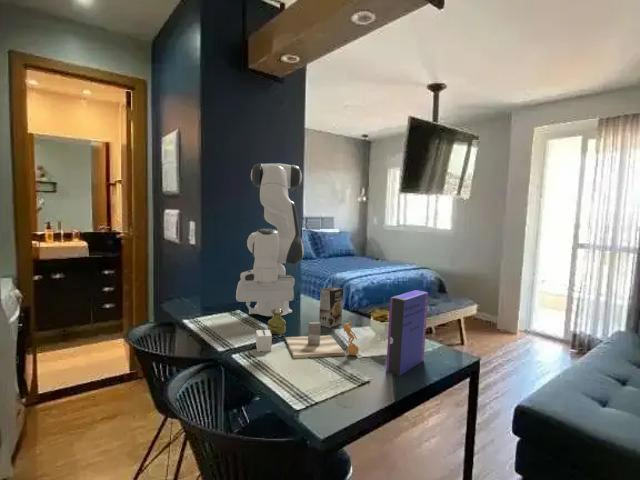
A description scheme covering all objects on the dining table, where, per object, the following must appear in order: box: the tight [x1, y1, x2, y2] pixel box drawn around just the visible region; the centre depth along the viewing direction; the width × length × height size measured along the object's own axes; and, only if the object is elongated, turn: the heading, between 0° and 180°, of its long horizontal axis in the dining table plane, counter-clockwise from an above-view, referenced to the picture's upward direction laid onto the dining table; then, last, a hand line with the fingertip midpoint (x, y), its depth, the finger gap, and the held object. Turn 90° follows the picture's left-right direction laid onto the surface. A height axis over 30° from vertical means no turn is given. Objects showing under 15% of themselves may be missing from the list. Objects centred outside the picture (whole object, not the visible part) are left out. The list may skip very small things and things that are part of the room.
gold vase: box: [266, 308, 287, 335], centre depth 155 cm, size 7×7×10 cm
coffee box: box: [318, 286, 344, 329], centre depth 169 cm, size 9×6×16 cm
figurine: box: [342, 321, 360, 356], centre depth 133 cm, size 8×6×12 cm
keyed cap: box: [255, 329, 273, 353], centre depth 137 cm, size 7×5×6 cm
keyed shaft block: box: [284, 321, 346, 359], centre depth 139 cm, size 18×18×9 cm
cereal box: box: [385, 289, 429, 377], centre depth 126 cm, size 17×5×24 cm, turn 141°
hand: (264, 313), depth 136 cm, fingers open, 8 cm apart
